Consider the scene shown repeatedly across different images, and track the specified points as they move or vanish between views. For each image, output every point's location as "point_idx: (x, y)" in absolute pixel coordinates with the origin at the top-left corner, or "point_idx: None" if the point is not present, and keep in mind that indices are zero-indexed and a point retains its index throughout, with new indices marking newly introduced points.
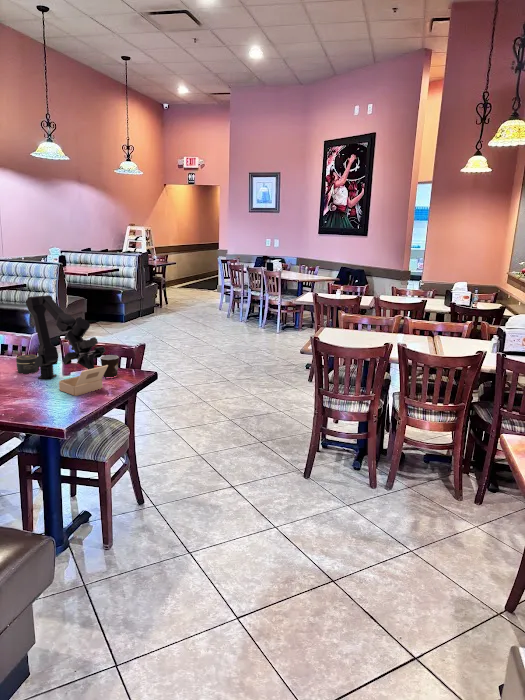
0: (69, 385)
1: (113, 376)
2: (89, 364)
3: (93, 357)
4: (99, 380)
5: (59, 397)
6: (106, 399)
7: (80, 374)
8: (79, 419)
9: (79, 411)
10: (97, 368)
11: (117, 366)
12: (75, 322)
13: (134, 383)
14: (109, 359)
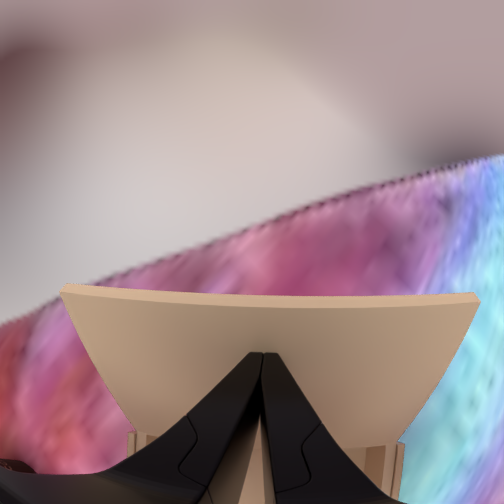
0: (398, 490)
1: (22, 466)
2: (301, 415)
3: (84, 475)
4: (147, 443)
5: (438, 461)
6: (286, 247)
7: (456, 349)
8: (469, 164)
9: (455, 216)
10: (230, 296)
11: None
12: None
13: (28, 326)
14: None
